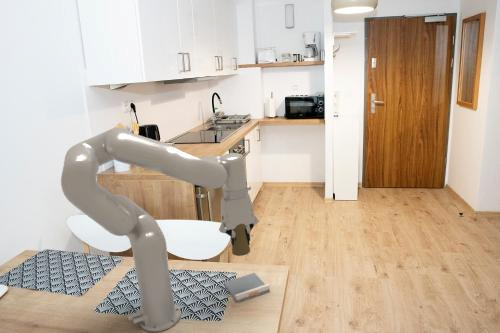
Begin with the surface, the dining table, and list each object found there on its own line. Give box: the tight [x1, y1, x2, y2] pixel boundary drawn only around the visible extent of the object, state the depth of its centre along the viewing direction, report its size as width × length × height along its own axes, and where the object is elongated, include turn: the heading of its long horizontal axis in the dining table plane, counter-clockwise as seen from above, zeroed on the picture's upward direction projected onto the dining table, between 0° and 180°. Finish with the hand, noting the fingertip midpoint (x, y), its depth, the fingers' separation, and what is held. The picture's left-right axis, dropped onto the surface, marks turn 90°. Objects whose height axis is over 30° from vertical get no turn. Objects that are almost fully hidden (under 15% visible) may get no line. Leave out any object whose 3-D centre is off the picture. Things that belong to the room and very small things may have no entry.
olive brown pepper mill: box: [231, 224, 251, 257], centre depth 128 cm, size 6×6×11 cm
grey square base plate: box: [223, 272, 271, 304], centre depth 136 cm, size 12×12×2 cm
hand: (241, 244), depth 129 cm, fingers closed on olive brown pepper mill, 3 cm apart
